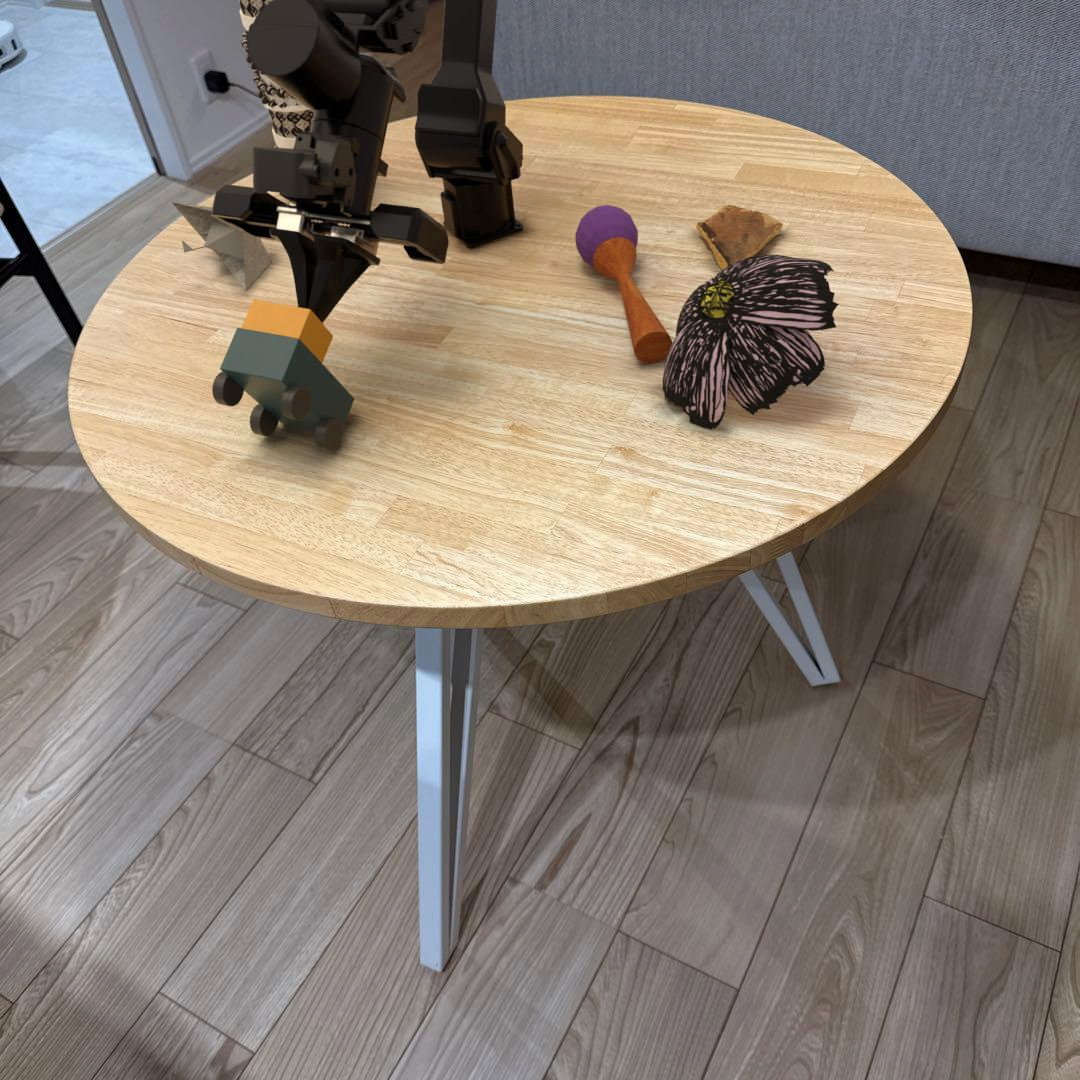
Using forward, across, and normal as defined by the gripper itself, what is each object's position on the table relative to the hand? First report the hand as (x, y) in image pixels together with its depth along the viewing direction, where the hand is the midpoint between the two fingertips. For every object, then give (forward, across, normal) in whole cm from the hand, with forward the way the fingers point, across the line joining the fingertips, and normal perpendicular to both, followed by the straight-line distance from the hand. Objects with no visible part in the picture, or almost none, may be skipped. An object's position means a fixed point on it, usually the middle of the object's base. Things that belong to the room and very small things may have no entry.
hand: (308, 330), depth 80 cm
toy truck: (+6, 0, +4) cm, 7 cm away
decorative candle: (-18, -20, +29) cm, 40 cm away
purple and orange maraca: (-10, +19, +21) cm, 30 cm away
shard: (-19, +28, +30) cm, 45 cm away
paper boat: (-7, -23, +18) cm, 30 cm away
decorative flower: (-4, +32, +15) cm, 36 cm away
